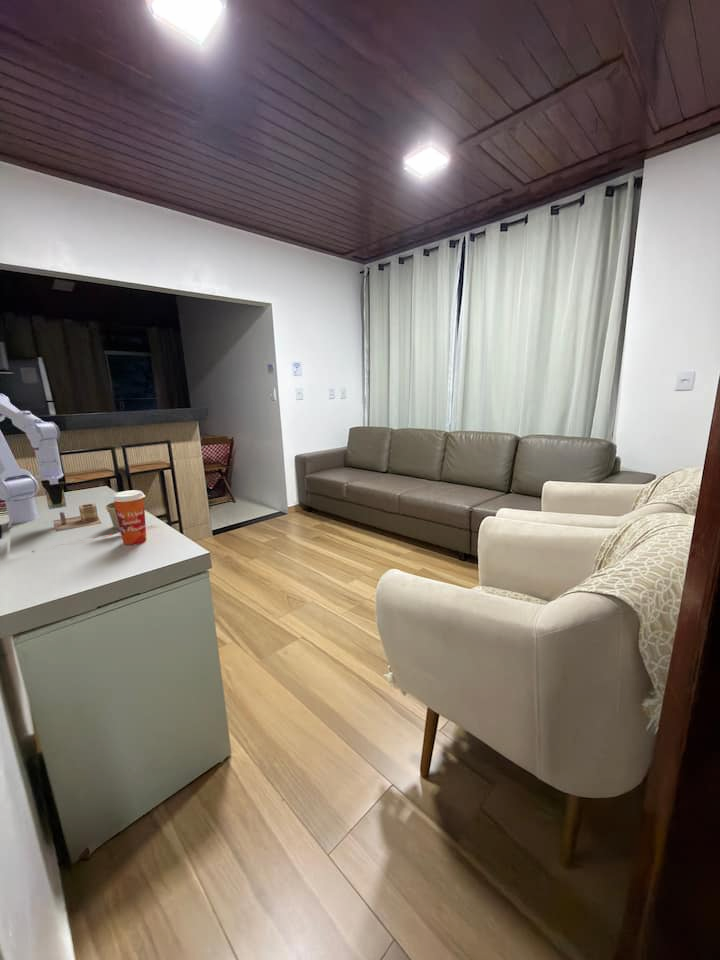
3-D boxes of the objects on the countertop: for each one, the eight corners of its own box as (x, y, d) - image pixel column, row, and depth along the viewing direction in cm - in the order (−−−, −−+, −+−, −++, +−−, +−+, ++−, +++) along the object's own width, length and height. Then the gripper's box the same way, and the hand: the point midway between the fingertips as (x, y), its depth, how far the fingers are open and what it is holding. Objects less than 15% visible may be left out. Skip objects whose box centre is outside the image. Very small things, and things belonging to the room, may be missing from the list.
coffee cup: (117, 548, 107) (109, 498, 104) (120, 539, 114) (113, 491, 111) (150, 543, 111) (144, 494, 108) (151, 534, 118) (145, 488, 115)
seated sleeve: (81, 519, 129) (78, 505, 127) (96, 516, 131) (94, 503, 130) (82, 522, 125) (80, 508, 124) (98, 519, 128) (96, 505, 127)
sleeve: (48, 506, 122) (45, 491, 121) (65, 504, 125) (62, 489, 124) (49, 509, 119) (46, 494, 118) (66, 506, 122) (63, 491, 121)
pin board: (53, 523, 128) (51, 509, 127) (96, 516, 135) (93, 502, 134) (56, 535, 117) (53, 519, 116) (102, 526, 125) (99, 511, 124)
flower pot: (131, 534, 118) (127, 508, 116) (101, 534, 118) (97, 508, 116) (148, 524, 127) (144, 499, 125) (120, 524, 128) (117, 499, 126)
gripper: (31, 459, 121) (39, 500, 124) (33, 465, 111) (42, 509, 114) (58, 457, 126) (65, 496, 129) (63, 462, 115) (70, 505, 118)
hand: (56, 502), depth 122 cm, fingers closed on sleeve, 4 cm apart
